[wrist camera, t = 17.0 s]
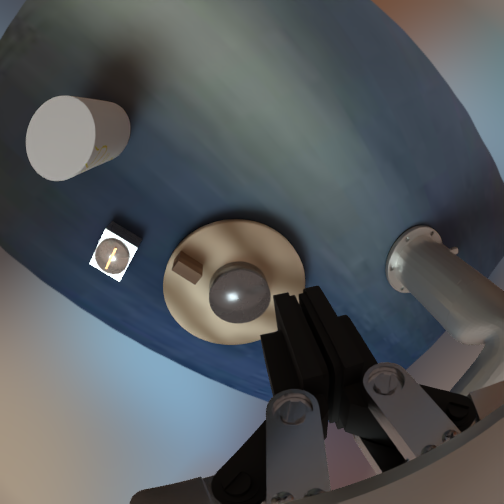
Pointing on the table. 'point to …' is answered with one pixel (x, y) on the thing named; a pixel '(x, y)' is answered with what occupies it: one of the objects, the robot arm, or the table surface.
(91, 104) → the cup
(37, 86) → the table surface
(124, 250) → the dial gauge
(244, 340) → the turntable
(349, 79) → the table surface
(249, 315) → the disc
